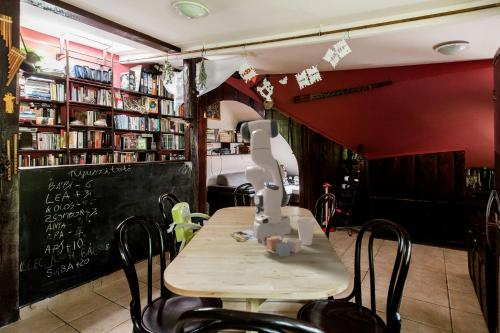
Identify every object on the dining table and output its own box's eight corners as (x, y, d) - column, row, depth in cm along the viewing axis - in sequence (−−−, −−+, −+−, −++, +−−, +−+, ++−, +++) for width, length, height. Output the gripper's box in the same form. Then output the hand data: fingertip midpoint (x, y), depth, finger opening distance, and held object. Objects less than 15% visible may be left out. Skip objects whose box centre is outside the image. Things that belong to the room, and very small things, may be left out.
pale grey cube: (292, 247, 149) (292, 238, 148) (301, 250, 145) (301, 240, 145) (287, 250, 145) (287, 240, 145) (295, 252, 142) (295, 242, 141)
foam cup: (304, 247, 148) (304, 222, 147) (293, 242, 157) (293, 218, 156) (318, 244, 153) (318, 220, 152) (307, 239, 161) (307, 216, 160)
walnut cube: (265, 240, 159) (265, 231, 159) (270, 243, 155) (271, 234, 155) (257, 242, 156) (257, 233, 156) (263, 245, 152) (263, 235, 152)
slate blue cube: (285, 251, 143) (285, 242, 143) (289, 255, 138) (290, 245, 138) (276, 253, 142) (276, 243, 141) (280, 257, 137) (280, 246, 136)
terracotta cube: (274, 245, 151) (274, 236, 151) (280, 249, 147) (280, 239, 146) (266, 247, 149) (266, 238, 149) (271, 250, 145) (271, 241, 144)
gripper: (286, 213, 154) (286, 239, 155) (251, 218, 145) (251, 245, 146) (293, 216, 148) (293, 242, 149) (257, 221, 139) (257, 249, 140)
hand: (272, 244), depth 148 cm, fingers open, 8 cm apart
